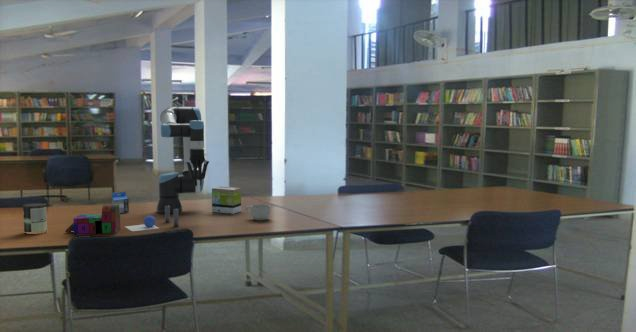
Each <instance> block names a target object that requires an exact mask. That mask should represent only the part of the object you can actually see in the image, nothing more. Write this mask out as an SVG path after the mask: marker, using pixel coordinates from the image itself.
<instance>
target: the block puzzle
mask: <svg viewBox="0 0 636 332" xmlns="http://www.w3.org/2000/svg"><path fill="white" fill-rule="evenodd" d="M96 227H101V228H100V230H101V234H102V235H116V234H118V233H119V232H120V231H121V213H120V207H119V205H118V204H112V203H111V204H110V203H108V204H106V203H104V204H103V205H102V210H101V213H85V214H82V213H81V214H78V215H77V216H75V217H74V218H73V222H72V223H71V225H69V226H68V227H67V228H66V230H65V232H71V231H74V233H73V235H74V234H95V235H96V234H97V233H96V232H97V231H96V229H97V228H96Z"/></svg>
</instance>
